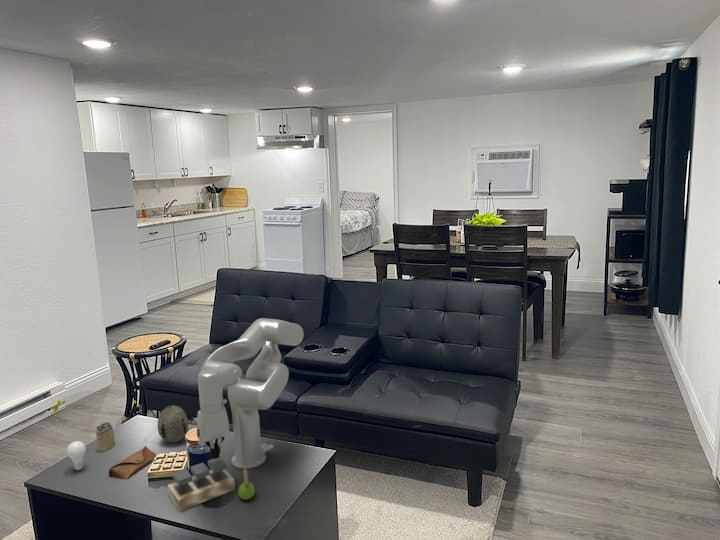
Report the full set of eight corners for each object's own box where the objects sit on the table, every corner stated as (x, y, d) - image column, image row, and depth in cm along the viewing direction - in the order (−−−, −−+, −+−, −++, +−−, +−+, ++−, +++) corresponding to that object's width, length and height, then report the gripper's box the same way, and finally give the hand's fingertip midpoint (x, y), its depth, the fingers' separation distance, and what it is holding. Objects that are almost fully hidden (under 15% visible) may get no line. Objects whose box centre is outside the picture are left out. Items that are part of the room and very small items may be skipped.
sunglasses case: (126, 481, 197) (117, 464, 197) (114, 486, 200) (105, 470, 200) (162, 456, 213) (154, 440, 213) (151, 461, 216) (143, 446, 216)
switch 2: (220, 465, 195) (219, 456, 194) (227, 472, 190) (226, 463, 189) (208, 469, 192) (207, 460, 192) (214, 477, 187) (214, 468, 187)
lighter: (110, 442, 225) (107, 419, 223) (117, 444, 223) (114, 421, 221) (96, 450, 219) (92, 427, 217) (103, 452, 217) (100, 428, 215)
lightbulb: (65, 473, 203) (61, 445, 201) (78, 464, 209) (75, 436, 207) (79, 475, 201) (75, 447, 199) (92, 466, 207) (88, 439, 205)
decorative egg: (195, 436, 228) (192, 402, 225) (176, 450, 217) (172, 414, 214) (173, 432, 232) (169, 398, 229) (152, 445, 222) (149, 410, 219)
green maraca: (239, 506, 181) (236, 472, 178) (238, 495, 187) (235, 462, 184) (256, 502, 182) (254, 469, 180) (254, 492, 188) (252, 459, 186)
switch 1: (186, 477, 188) (185, 468, 187) (192, 485, 183) (191, 476, 182) (173, 482, 185) (172, 473, 185) (179, 490, 181) (178, 480, 180)
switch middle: (203, 471, 191) (202, 462, 191) (210, 479, 187) (209, 469, 186) (191, 475, 189) (190, 466, 188) (197, 483, 184) (196, 474, 183)
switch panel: (222, 475, 199) (221, 465, 198) (235, 489, 190) (234, 478, 189) (168, 495, 188) (167, 484, 187) (179, 511, 179) (178, 499, 178)
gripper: (228, 397, 194) (231, 446, 197) (185, 408, 185) (190, 459, 188) (237, 404, 188) (240, 454, 191) (193, 416, 179) (198, 468, 182)
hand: (215, 456), depth 190 cm, fingers closed
